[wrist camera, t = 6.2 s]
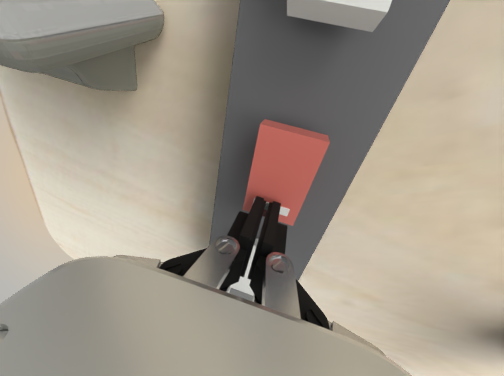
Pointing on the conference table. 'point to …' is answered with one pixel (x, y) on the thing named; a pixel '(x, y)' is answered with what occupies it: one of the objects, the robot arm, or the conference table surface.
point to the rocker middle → (284, 167)
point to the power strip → (314, 101)
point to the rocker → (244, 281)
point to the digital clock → (78, 38)
